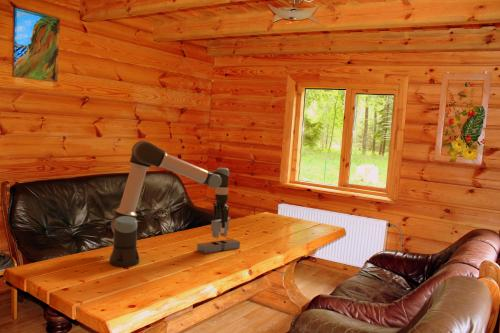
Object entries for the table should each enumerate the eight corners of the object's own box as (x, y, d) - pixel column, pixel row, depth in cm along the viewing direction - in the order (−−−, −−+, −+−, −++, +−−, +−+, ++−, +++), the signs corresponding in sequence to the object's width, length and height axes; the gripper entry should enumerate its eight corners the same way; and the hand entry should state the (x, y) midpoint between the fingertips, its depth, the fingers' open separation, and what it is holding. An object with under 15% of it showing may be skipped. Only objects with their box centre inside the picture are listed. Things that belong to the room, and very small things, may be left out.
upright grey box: (214, 238, 256) (215, 221, 255) (210, 236, 259) (211, 220, 258) (228, 236, 263) (229, 220, 262) (224, 234, 266) (225, 218, 265)
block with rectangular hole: (204, 254, 250) (204, 247, 250) (196, 250, 256) (197, 243, 256) (239, 248, 267) (240, 241, 266) (231, 244, 273) (232, 238, 273)
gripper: (235, 195, 254) (233, 234, 256) (218, 191, 267) (216, 228, 270) (225, 196, 250) (223, 236, 252) (208, 191, 263) (206, 229, 265)
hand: (219, 232), depth 261 cm, fingers closed on upright grey box, 4 cm apart
